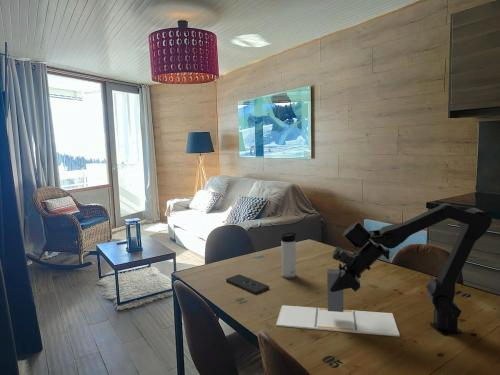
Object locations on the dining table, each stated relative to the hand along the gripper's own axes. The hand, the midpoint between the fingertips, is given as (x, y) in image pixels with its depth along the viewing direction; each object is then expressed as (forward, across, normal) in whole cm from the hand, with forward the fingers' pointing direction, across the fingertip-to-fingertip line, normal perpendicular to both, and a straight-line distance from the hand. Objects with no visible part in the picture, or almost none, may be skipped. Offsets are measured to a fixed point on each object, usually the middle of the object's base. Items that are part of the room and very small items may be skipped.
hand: (331, 288), depth 116 cm
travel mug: (+21, -37, -5) cm, 43 cm away
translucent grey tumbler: (+4, 0, +6) cm, 7 cm away
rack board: (+7, 0, +9) cm, 11 cm away
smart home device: (+33, -25, -17) cm, 45 cm away
